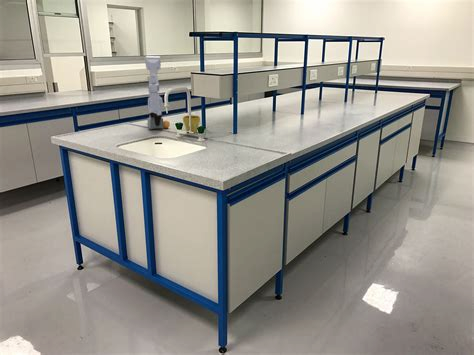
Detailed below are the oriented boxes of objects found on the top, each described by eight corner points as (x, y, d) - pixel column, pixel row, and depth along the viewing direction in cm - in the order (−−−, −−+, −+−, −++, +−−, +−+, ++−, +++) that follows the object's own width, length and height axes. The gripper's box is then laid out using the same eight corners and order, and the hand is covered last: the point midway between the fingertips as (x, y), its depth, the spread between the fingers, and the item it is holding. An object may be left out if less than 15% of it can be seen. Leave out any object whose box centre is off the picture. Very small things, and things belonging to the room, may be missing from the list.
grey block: (148, 127, 241) (147, 118, 239) (160, 125, 245) (159, 116, 243) (150, 129, 237) (150, 119, 234) (163, 127, 240) (162, 118, 238)
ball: (161, 119, 244) (168, 119, 246) (160, 127, 245) (167, 127, 248) (163, 120, 240) (171, 121, 242) (163, 128, 241) (170, 128, 243)
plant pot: (189, 134, 226) (188, 118, 223) (180, 131, 233) (179, 116, 230) (203, 132, 232) (203, 117, 229) (194, 129, 240) (194, 114, 236)
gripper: (145, 102, 240) (146, 123, 244) (152, 105, 228) (153, 127, 233) (155, 101, 243) (157, 122, 248) (163, 104, 232) (164, 126, 236)
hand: (156, 124), depth 240 cm, fingers closed on grey block, 6 cm apart
